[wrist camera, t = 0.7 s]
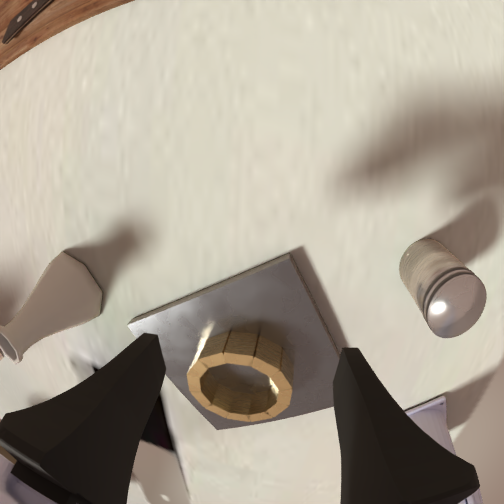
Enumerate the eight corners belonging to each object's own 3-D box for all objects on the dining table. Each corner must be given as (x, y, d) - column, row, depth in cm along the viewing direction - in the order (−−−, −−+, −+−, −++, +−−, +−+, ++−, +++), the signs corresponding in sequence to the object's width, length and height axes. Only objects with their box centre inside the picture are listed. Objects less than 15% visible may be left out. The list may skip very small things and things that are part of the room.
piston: (451, 276, 18) (487, 319, 13) (406, 298, 20) (433, 348, 14) (440, 229, 17) (483, 263, 12) (392, 252, 19) (422, 295, 13)
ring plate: (356, 391, 24) (360, 420, 20) (219, 422, 28) (211, 447, 25) (289, 252, 20) (287, 275, 16) (131, 318, 24) (112, 342, 21)
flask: (43, 284, 25) (-21, 334, 16) (60, 236, 22) (-21, 285, 13) (90, 332, 26) (33, 395, 17) (115, 291, 23) (44, 363, 14)
